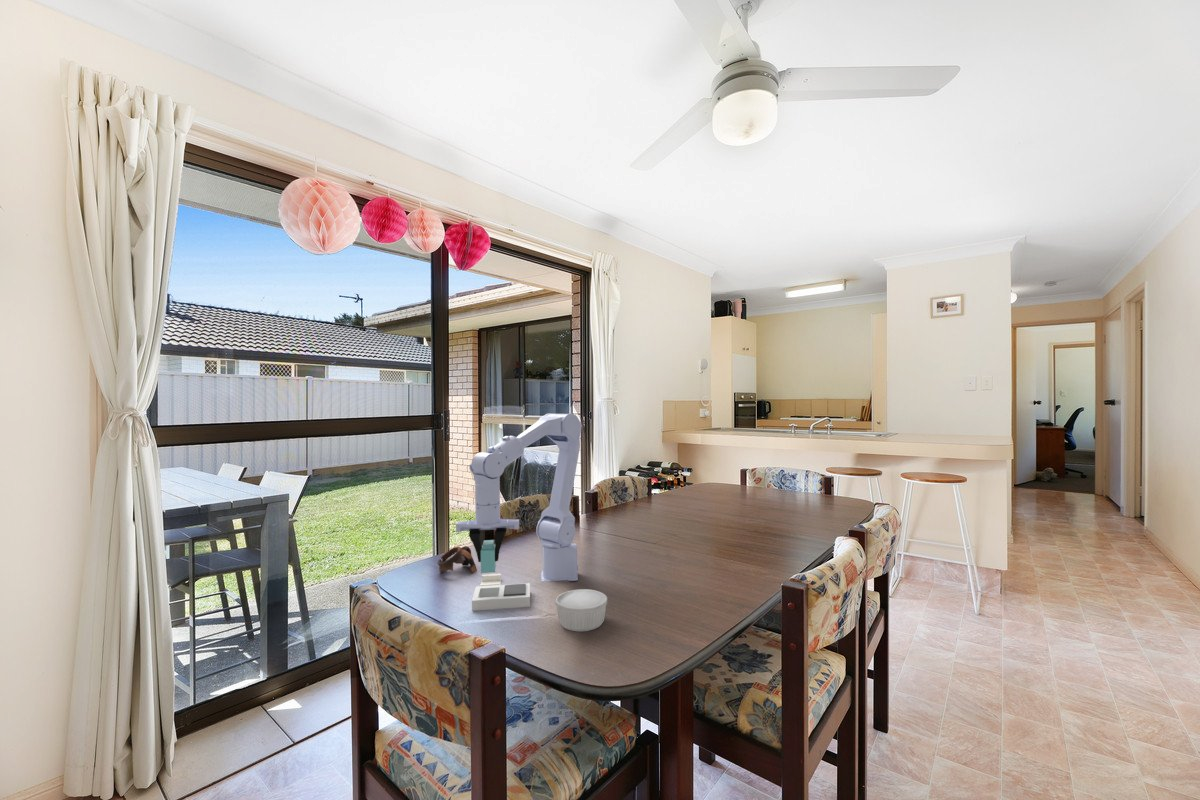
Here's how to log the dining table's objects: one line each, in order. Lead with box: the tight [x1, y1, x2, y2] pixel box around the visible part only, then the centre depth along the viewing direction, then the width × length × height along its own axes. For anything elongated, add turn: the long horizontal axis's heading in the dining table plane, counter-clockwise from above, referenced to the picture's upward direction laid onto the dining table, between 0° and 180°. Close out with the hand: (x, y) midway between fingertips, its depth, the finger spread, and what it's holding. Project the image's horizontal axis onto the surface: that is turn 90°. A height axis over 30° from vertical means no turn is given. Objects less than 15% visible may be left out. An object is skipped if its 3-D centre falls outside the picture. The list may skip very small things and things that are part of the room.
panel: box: [471, 582, 531, 612], centre depth 120 cm, size 13×9×3 cm
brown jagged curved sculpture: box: [437, 545, 478, 574], centre depth 142 cm, size 12×10×8 cm
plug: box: [480, 539, 497, 574], centre depth 121 cm, size 3×4×6 cm
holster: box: [479, 573, 502, 586], centre depth 130 cm, size 5×8×2 cm, turn 8°
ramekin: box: [554, 588, 608, 633], centre depth 109 cm, size 11×11×5 cm
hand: (488, 560), depth 121 cm, fingers closed on plug, 3 cm apart
